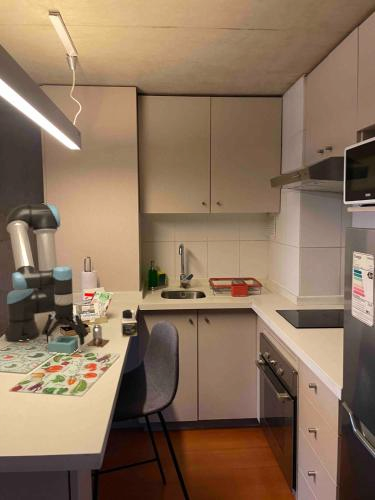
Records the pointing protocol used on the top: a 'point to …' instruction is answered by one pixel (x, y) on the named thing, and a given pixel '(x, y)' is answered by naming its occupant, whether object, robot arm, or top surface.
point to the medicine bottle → (128, 323)
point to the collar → (64, 344)
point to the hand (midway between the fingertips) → (65, 351)
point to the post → (97, 337)
